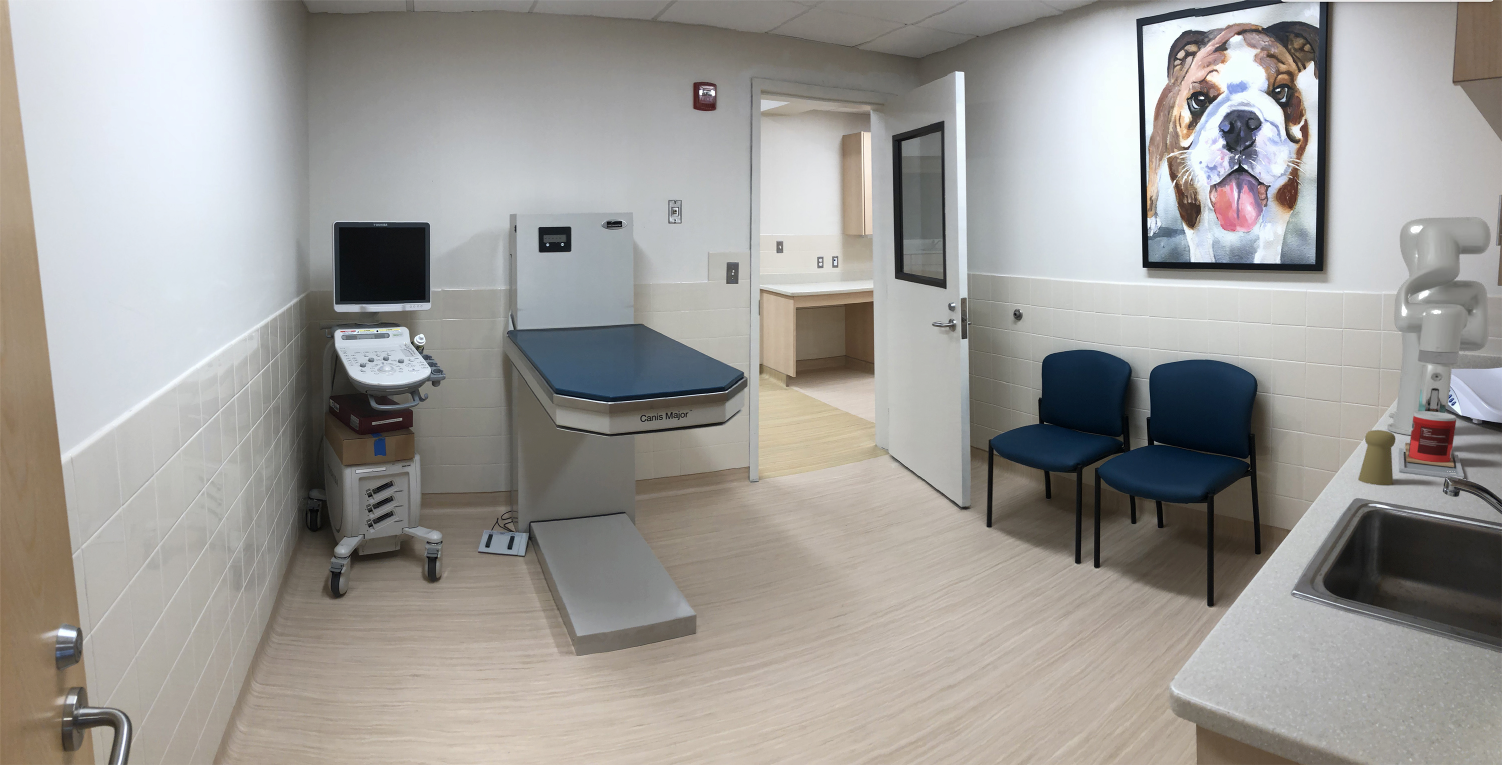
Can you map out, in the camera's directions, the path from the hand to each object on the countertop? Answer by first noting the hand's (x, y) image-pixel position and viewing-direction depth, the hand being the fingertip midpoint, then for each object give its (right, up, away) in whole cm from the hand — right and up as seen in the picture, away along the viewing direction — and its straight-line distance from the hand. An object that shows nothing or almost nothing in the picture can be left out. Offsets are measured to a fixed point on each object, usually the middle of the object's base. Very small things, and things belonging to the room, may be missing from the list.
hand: (1428, 432), depth 208 cm
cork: (-32, -9, -26) cm, 42 cm away
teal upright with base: (-6, -6, -7) cm, 10 cm away
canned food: (-9, -6, -11) cm, 16 cm away
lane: (-11, -7, -13) cm, 18 cm away
